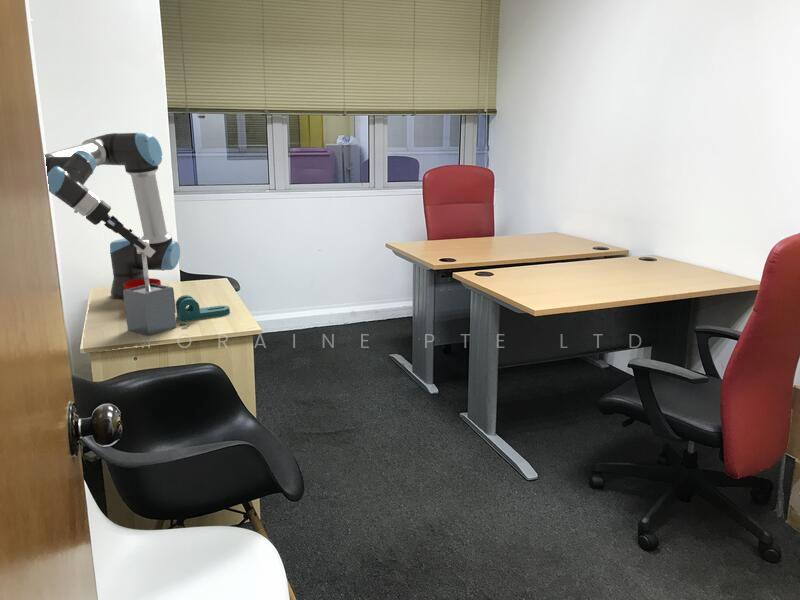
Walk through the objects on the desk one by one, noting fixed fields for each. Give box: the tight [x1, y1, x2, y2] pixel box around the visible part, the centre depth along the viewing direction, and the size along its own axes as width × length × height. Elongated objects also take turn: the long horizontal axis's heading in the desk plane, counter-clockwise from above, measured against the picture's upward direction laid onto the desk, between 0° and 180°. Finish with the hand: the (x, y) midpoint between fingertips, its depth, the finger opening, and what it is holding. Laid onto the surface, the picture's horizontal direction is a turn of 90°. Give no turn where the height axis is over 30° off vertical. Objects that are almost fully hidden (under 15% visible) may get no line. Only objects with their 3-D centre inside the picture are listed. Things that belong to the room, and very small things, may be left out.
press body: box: [123, 283, 177, 337], centre depth 212 cm, size 15×11×14 cm
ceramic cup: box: [124, 277, 162, 290], centre depth 236 cm, size 13×17×10 cm
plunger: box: [133, 240, 163, 293], centre depth 207 cm, size 9×9×17 cm
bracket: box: [175, 294, 231, 322], centre depth 227 cm, size 18×7×8 cm, turn 120°
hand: (149, 251), depth 206 cm, fingers open, 13 cm apart
